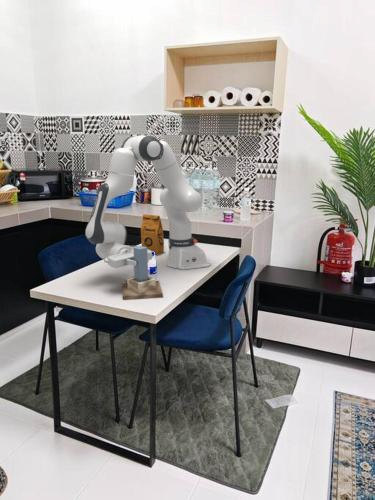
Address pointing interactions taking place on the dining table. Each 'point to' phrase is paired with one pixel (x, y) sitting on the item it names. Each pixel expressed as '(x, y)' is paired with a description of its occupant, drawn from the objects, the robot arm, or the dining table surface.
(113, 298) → the dining table surface
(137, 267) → the slate peg
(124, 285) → the socket board
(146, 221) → the coffee package
